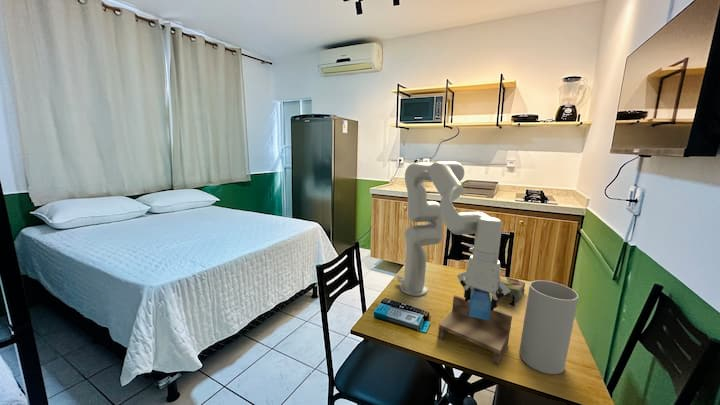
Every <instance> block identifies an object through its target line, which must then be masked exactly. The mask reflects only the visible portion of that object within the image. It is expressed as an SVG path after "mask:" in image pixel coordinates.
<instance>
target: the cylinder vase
mask: <svg viewBox="0 0 720 405" xmlns="http://www.w3.org/2000/svg"><path fill="white" fill-rule="evenodd" d="M526 299H527V301H526V306H525V313H524V319H523V326H522V331H521V332H522V333H521V338H520V344H519V351H518V353H519V357H520V358H521V359H522V360H523V362H524V363H525V364H526V365H527V366H529V367H530V368H532V369H534V370H536V371H538V372H540V373H542V374H547V375H558V374H562V373H563V372H564V371H565V367H566V363H567V357H568V353H569V347H570V343H571V336H572V331H573V327H574V321H575V315H576V311H577V306H578V302H579V301H578V300H579V294H578V293H577V292H576V291H575V290H574V289H572V288H570V287H569V286H567V285H564V284H561V283H558V282H555V281H550V280H542V279H541V280H539V279H538V280H532V281H531V282H530V283H529V287H528V294H527V298H526Z"/></svg>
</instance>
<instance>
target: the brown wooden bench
mask: <svg viewBox="0 0 720 405" xmlns="http://www.w3.org/2000/svg"><path fill="white" fill-rule="evenodd" d="M469 301H470V300H468V301H467V302H465V298H464V297H462V296H460V295H457V294H454V295H453V301H452V308H451V309H452V310H451V311H450V312H449V313H448V314H447V315H446V316H445V317H444V319H443V320H442V321H440V323H439V325H438V335H437V339H438V340H441V341H443V340H444V339H445V338H446V337H447V336H448V335H449V334H450V333H451V334H453V335H455V336H458V337H460V338H462V339H464V340H467V341H469V342H471V343H473V344H475V345H478V346H481V348H485V349H488V350H489V351H492V352H493V359H492V365H494V366H496V367H499V365H500V362H502V361H501V360H502V359H503V356H504V354H505V352H506V350H507V348H508V347H509V346H508V345H509V342H510V341H509V340H510V333H511V326H512V321H513V320H512V319H513V314H510V313H508V312H505V311H501V310H499V309H497V308H494V310H493V311H491V310H490V318H489V321H488V320H484V319H479V318H474V317H470V316H469Z"/></svg>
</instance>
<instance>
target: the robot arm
mask: <svg viewBox="0 0 720 405" xmlns="http://www.w3.org/2000/svg"><path fill="white" fill-rule="evenodd" d="M464 176H465V169H464V167H463V165H462V163H461V162H458V161H451V160H448V161H447V160H446V161H445V160H443V161H442V160H441V161H439V160H438V161H434V162H415V163H414V162H413V163H411V164H409V165H407V167H406V169H405V173H404V182H405V186H406V190H407V216H408V220H409V221H410V222H411V223H412V222H413V223H424V222H425V223H427V224H415V225H410V226H408V227H407V228H406V229H405V231H404V241H405V261H404V275H403V276H401V275H398V276H397V280H396V281H397V282H399V283H401V284H400V287H399V289H400V292H402V293H404V294H405V295H408V296H412V297H422V296H425V295H426V294H427V293H428V287H427V286H426V285H425V282H426V281H425V278H426V268H427V267H426V266H427V253H426V251H425V249H424V246H434V245H438V244H439V243H441V242H442V241H443V237H444V236H443V232H444V230H443V228H444V227H443V226H444V225H443V224H445V227H447V229H448V230H449V231H450V233H452V234H454V235H457V236H461V235H473V234H474V244H473V247H469V248H468V251H469V252H470V253H471V255H470V256H469V259H468V262H467V265H466V270H465V271H464V272H461V273H459V274H457V279H458V281H459V283H460V284H461V286H462V288H463V290H464V291H463V292H464V294H463V298H465V302H467V301H468V300H469V299H470V293H471V288H470V287H473V288H476V289H480V290H483V291H486V292H489V293H490V295H491V311H493V310H494V309H497V307H498V301H499V299H501V298H503V297H504V296H507V295H506V294H507V293H509V291H510V289H509V288H508V287H507V286H506V285H505V284H504V283H503V282H502V279H501V262H500V260H499V255H500V247H501V238H502V231H503V221H502V220H501V219H500V218H497V217H494V216H490V215H488V214H487V213H484V212H483V211H482V212H481V211H462V212H458V210H457V209H456V207H455V206H454V204H453V202H455V201H456V200H457V199H459V198H460V197H461V196H462V194H463V192H464V187H463V185H462V183H461V181H462V180H463V179H464ZM423 183H432V184H433V185H434V186H435V189H436V190H437V192H438V194H439V195H440V196H441V199H440V203H439V202H437V201H434V200H428V198H427V197H428V196H427V194H428V193H427V189H426V188H425V186H424V184H423ZM499 286H500V287H501V288H502V289H503V291H502V292H498V291H497V289H498V288H499ZM492 296H493V298H492Z"/></svg>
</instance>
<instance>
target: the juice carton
mask: <svg viewBox="0 0 720 405" xmlns="http://www.w3.org/2000/svg"><path fill="white" fill-rule="evenodd" d="M501 281H502V282H503V283H504V284H505V285H506V286H507V287H508V288H509V289H510V291H509V293H507V294H506V295H505V296H507V295H508V296H511V301H510V302H509V303H508V305H509V306H510V307H515V306H516V305H517V303H518V302H519V301H520V298H521V297H522V295H523V294H524V293H525V291H526V290H525V287H526V286H525V285H526V283H525V282H524V281H521V280H518V279H515V278H511V277H507V276H504V277H503V279H501ZM497 291H498V293H500V292H502V291H503V289H502V288H501V287H500V286H499V288H498V289H497ZM492 298H493V296H492V295H491V299H492Z"/></svg>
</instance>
